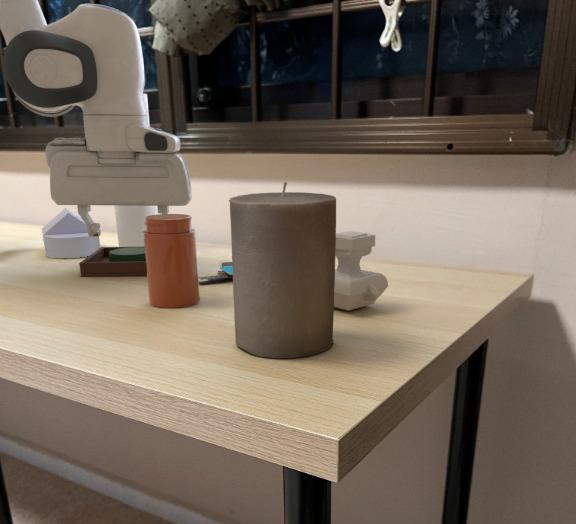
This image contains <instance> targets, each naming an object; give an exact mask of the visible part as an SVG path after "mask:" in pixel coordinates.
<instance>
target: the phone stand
mask: <svg viewBox="0 0 576 524" xmlns="http://www.w3.org/2000/svg"><path fill="white" fill-rule="evenodd" d="M198 279H200V281H198V284H201V285H207V284H223V283H224V284H225V283H231V282H232V283H233V268H232V261H225V262H221V265H220V266H219V270H217V275H208V276H207V275H206V276H198ZM201 280H203V281H201Z"/></svg>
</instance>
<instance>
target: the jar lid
mask: <svg viewBox="0 0 576 524" xmlns="http://www.w3.org/2000/svg"><path fill="white" fill-rule="evenodd" d="M109 260H110V262H136V261H146V259H145V249H144V248H141V247H131V248H120V249H115V250H111V251H110V252H109Z"/></svg>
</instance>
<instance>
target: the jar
mask: <svg viewBox="0 0 576 524" xmlns="http://www.w3.org/2000/svg"><path fill="white" fill-rule="evenodd" d="M192 219H193V217H192V216H191V215H189V214H183V213H168V214H162V213H158V214H157V215H151V216H147V217H145V225H146V230H145V231H143V238H144V249H145V259H146V270H147V276H146V279H147V290H148V300H149V305H150V306H152V307H156V308H161V309H178V308H185V307H190V306H191V307H192V306H194V305H196V304H198V303H199V302H200V289H199V278H198V277H199V274H198V273H199V271H198V258H197V257H198V256H197V240H196V239H197V238H196V230H195V228H192Z"/></svg>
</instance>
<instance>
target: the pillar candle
mask: <svg viewBox="0 0 576 524" xmlns="http://www.w3.org/2000/svg"><path fill="white" fill-rule="evenodd" d="M287 185H288V183H287V181H284V182H283V186H282V192H279V191H278V192H259V193H249V194H248V193H247V194H241V195H236V196H232V197H230V198H229V199H228V202H229V216H230V217H229V218H230V238H231V262H232V268H233V282H232V293H233V294H232V295H233V315H234V336H235V337H234V338H235V345H236V346H237V347H238V348H241V349H242V350H244V351H246V352H247V353H249V354H251V355H254V356H257V357H260V358H268V359H294V358H302V357H309V356H312V355H315V354H318V353H321V352H324V351H328V350H329V349H331V348H332V347H333V345H334V337H333V336H334V316H335V315H334V314H335V312H334V311H335V307H334V287H335V269H336V256H335V249H336V234H337V198H336V196H335V195H331V194H324V193H317V192H301V191H297V192H296V191H294V192H293V191H292V192H291V191H290V192H289V191H288V192H287V191H286V188H287Z"/></svg>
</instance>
